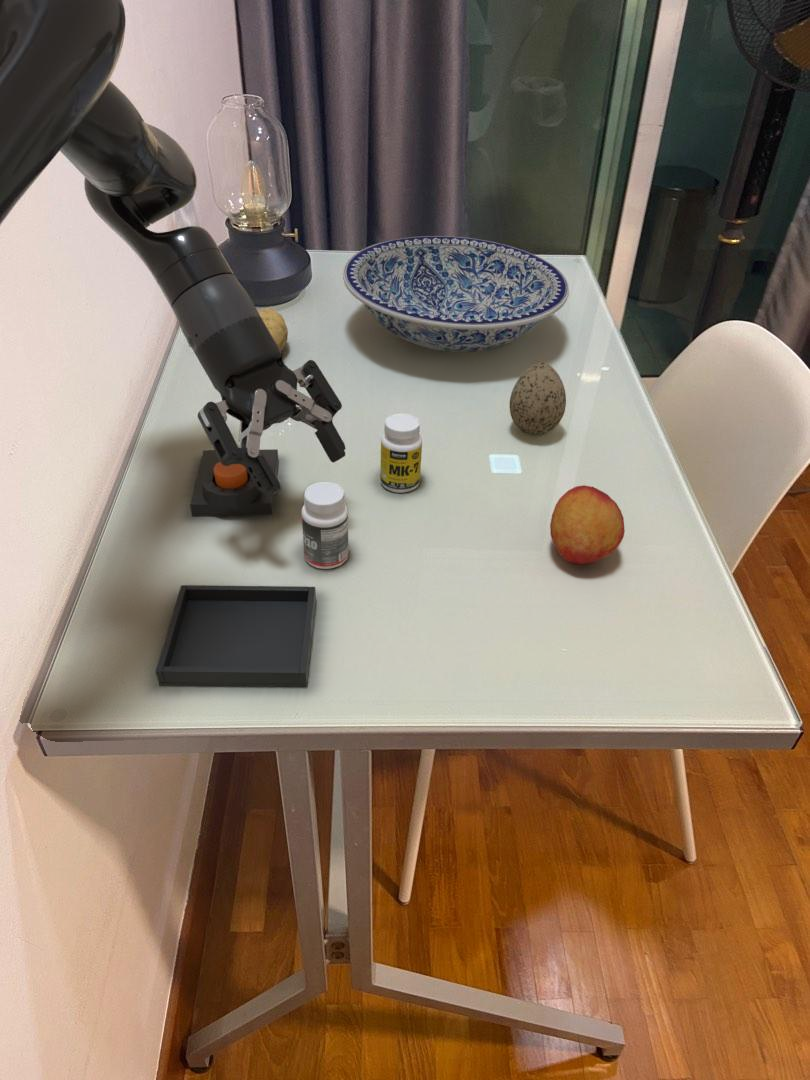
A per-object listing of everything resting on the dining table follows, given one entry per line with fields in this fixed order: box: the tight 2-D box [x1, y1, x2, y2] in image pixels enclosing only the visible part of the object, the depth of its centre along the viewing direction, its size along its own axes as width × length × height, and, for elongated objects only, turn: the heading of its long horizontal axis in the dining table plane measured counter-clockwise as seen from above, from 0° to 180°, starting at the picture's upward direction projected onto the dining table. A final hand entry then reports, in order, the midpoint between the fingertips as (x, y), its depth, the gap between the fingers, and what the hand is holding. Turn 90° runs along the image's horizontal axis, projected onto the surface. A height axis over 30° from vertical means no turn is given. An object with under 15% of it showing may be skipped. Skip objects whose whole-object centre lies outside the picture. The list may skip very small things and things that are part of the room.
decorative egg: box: [509, 361, 567, 437], centre depth 104 cm, size 7×7×10 cm
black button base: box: [189, 449, 279, 517], centre depth 95 cm, size 12×9×4 cm
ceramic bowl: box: [342, 235, 570, 353], centre depth 126 cm, size 34×34×10 cm
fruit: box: [549, 484, 626, 565], centre depth 86 cm, size 8×8×8 cm
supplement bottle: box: [379, 412, 423, 494], centre depth 95 cm, size 5×5×8 cm
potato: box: [258, 308, 289, 352], centre depth 120 cm, size 7×11×6 cm, turn 172°
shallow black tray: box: [155, 584, 317, 688], centre depth 77 cm, size 13×11×2 cm
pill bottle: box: [301, 481, 350, 570], centre depth 84 cm, size 5×5×8 cm
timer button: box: [214, 462, 248, 489], centre depth 91 cm, size 4×4×2 cm
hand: (308, 475), depth 82 cm, fingers open, 8 cm apart
